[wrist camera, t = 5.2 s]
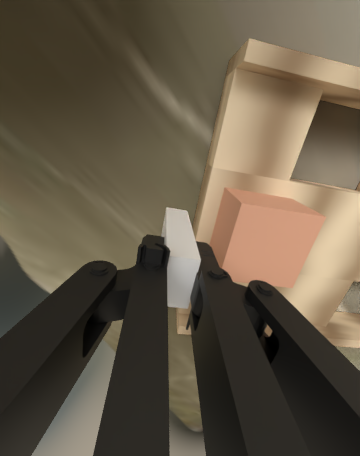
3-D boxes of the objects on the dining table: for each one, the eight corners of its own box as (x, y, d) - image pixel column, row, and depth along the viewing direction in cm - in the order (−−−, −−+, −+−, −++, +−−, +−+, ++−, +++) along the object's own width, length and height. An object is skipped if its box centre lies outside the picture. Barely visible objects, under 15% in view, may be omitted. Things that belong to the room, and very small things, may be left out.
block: (207, 250, 18) (218, 279, 15) (224, 187, 16) (241, 203, 13) (268, 258, 19) (292, 288, 15) (291, 198, 17) (326, 216, 13)
